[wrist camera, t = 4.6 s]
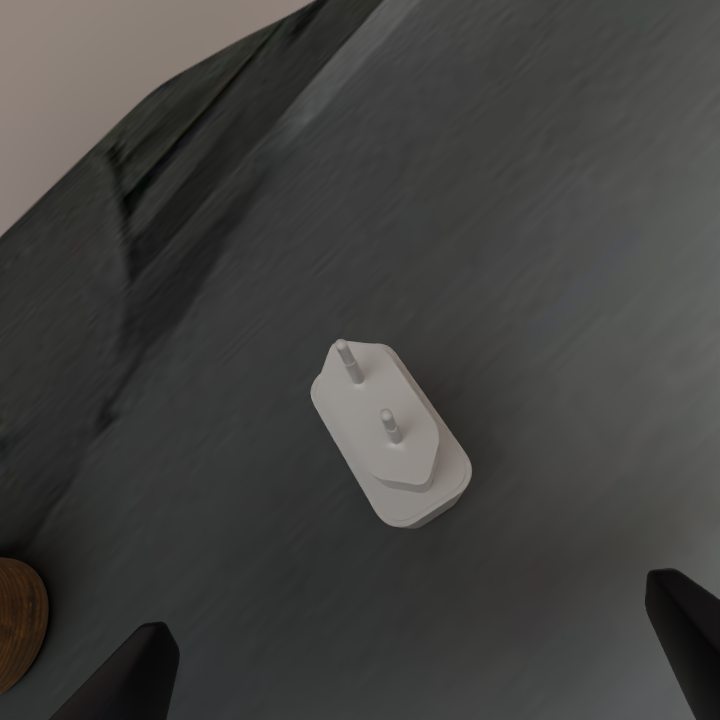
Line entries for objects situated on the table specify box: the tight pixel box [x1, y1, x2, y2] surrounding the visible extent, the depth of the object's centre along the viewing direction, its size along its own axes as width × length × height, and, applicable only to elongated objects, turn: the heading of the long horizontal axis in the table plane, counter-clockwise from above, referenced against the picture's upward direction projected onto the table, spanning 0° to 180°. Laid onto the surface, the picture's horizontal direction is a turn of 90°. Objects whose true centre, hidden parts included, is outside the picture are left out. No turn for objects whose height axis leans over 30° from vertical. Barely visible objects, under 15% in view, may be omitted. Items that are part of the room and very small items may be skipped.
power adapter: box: [311, 339, 472, 529], centre depth 15 cm, size 3×5×12 cm, turn 31°
